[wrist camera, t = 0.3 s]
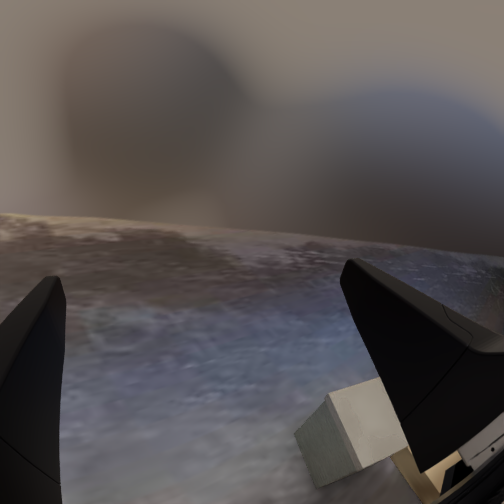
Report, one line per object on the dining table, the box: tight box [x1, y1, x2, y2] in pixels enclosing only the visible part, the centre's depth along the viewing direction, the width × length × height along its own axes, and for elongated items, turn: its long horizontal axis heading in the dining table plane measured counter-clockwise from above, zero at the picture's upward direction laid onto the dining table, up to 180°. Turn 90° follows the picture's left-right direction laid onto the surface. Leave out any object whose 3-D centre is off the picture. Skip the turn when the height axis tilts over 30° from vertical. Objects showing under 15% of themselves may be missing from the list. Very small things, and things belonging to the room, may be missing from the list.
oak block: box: [390, 446, 462, 504], centre depth 19 cm, size 11×11×3 cm
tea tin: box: [294, 377, 409, 489], centre depth 18 cm, size 5×5×7 cm
